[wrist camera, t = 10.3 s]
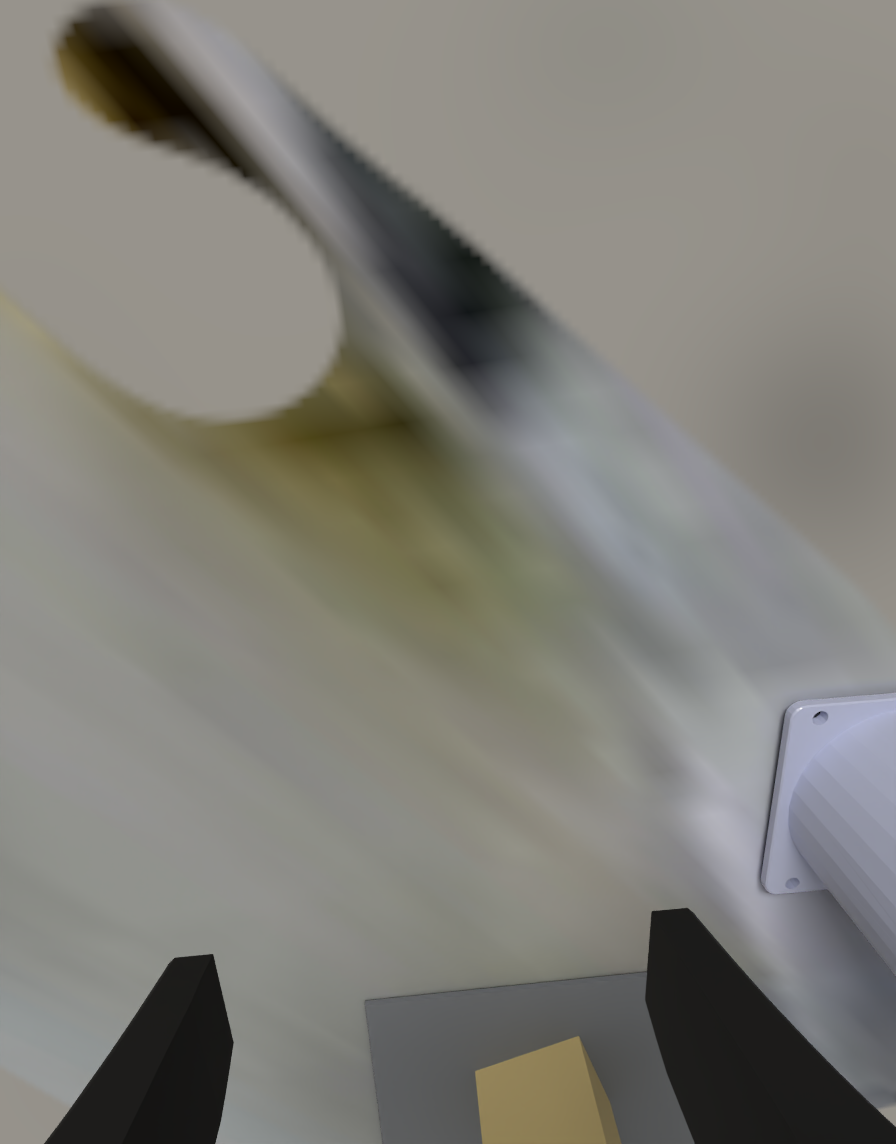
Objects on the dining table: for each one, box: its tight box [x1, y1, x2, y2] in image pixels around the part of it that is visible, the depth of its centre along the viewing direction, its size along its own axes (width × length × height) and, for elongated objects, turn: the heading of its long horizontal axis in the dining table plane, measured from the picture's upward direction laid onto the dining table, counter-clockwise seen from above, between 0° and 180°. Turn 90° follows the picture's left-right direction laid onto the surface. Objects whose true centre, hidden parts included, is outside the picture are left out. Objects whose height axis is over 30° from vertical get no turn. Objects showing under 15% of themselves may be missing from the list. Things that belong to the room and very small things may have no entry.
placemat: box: [365, 972, 695, 1144], centre depth 27 cm, size 14×12×1 cm
